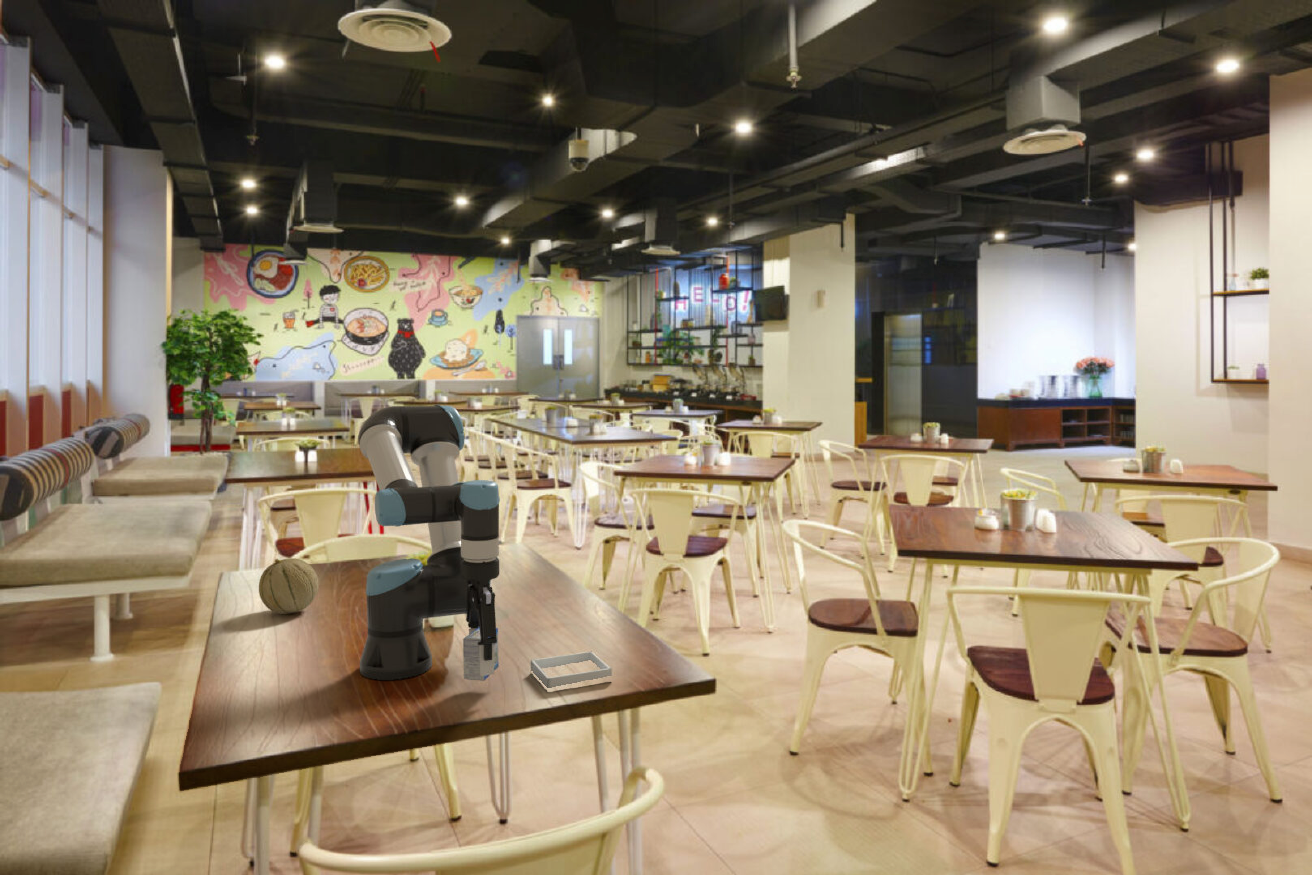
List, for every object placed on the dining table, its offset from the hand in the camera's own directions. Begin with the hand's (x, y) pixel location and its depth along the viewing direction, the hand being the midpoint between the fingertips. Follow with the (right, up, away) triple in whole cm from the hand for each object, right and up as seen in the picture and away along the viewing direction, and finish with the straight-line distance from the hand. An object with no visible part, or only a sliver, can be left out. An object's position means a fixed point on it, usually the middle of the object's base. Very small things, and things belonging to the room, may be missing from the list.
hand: (481, 666), depth 175 cm
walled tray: (+17, -5, +8) cm, 20 cm away
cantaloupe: (-62, 0, +55) cm, 83 cm away
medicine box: (0, -2, 0) cm, 2 cm away
